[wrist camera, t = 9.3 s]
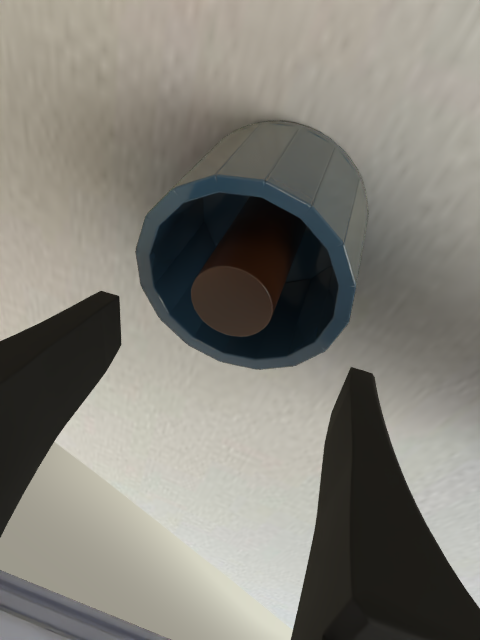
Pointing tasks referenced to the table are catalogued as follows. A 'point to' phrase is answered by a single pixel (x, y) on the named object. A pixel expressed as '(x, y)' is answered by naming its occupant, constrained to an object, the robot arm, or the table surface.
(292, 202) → the pen cup
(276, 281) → the walnut peg
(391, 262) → the table surface
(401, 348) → the table surface
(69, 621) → the robot arm
